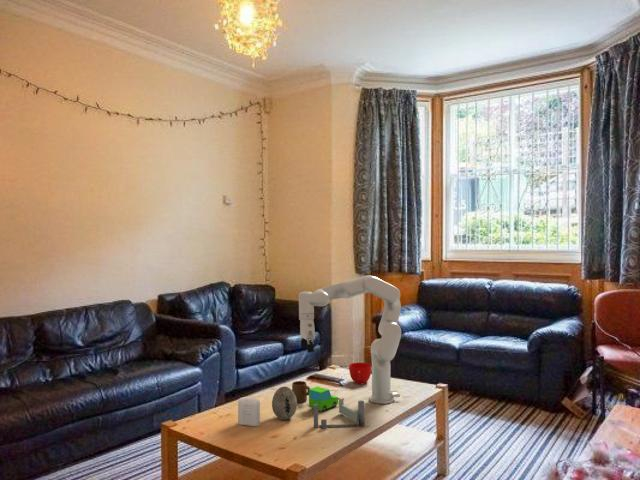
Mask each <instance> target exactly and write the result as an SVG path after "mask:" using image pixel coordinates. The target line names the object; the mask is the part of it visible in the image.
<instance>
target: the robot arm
mask: <svg viewBox="0 0 640 480" xmlns="http://www.w3.org/2000/svg"><path fill="white" fill-rule="evenodd" d="M367 293H370V294H371V295H374V296H376V297H377V298H379V299H382V301H383V304H384V307H383V311H382V312H383V313H382V315H381V319H380V322H379V324H378V329H377V330H378V333H379V335H380V336H381V337H380V338H376V339H374V340H373V341H372V342H371V345H370V357H371V394H372V395H370V396H369V401H370V402H371V403H373V404H379V405H385V404H387V405H388V404H391V403H394V401H395V398H400V396H401V393H400V392H396V391H393V392H392V389H391V386H392V385H391V361H392V360H394V358H395V356H396V354H397V350H398V348H399V345H400V341H401V338H402V329H401V326H400V324H398V322H399V319H400V316H401V311H402V307H401V306H402V305H401V300H400V298H401V291H400V289H399V288H398V287H396V286H394V285H392V284H391V283H389V282H386V281H384V280H382V279H380V278H379V277H377V276H373V275H371V274H369V275H363V276H360V277H357V278H354V279H351V280H346V281H344V282H339V283H337V284H332V285H328V286H325V287H321V288H319V289H316V290H314V291H313V292H312V291H300V292H299V293H298V320H299V321H300V323H299V324H300V325H299V328H300V330H299V333H300V348H301V349H307V353H314V352H315V348H314V346H315V345H314V344H315V343H314V342H315V339H316V331H315V322H314V319H315V308H314V307H325V306H327V305H328V304H329V303H330V301H333V300H337V299H349V298H350V299H351V298H354V297H356V296H360V295H362V294H363V295H364V294H367Z"/></svg>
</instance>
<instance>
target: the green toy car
mask: <svg viewBox="0 0 640 480" xmlns="http://www.w3.org/2000/svg"><path fill="white" fill-rule="evenodd" d="M338 398H339V397H338V396H335V395H332V394H331V391H330V389H328V388H325V387H320V386H315V387H312V388H310V389H309V395H308V408H311V409H313V404H318V411H320V412H323V413H324V412H326V410H327V409H329V408H333V409H334V408H336V407H337V405H339V400H338Z"/></svg>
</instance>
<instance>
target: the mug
mask: <svg viewBox="0 0 640 480" xmlns="http://www.w3.org/2000/svg"><path fill="white" fill-rule="evenodd" d="M309 389H311V388H310V386H308V385H307V382H306V381H303V380H302V381H301V380H299V381H298V380H297V381H293V382H292V383H291V390H292V391H293V392H294V394H295V396H296V399H297V404H304V403H306V402H307V400H308V397H309Z"/></svg>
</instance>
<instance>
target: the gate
mask: <svg viewBox="0 0 640 480" xmlns="http://www.w3.org/2000/svg"><path fill="white" fill-rule="evenodd" d="M344 400H345V397H342V396H341V397H338V413H339V414H342V415H343V416H345V417H346V418H348V419H350V420H352V421H354V422H355V423H356V424H358V409H355V410H354V409H352V408H351V407H348V406H347V405H345V404H344V402H345V401H344Z"/></svg>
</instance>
